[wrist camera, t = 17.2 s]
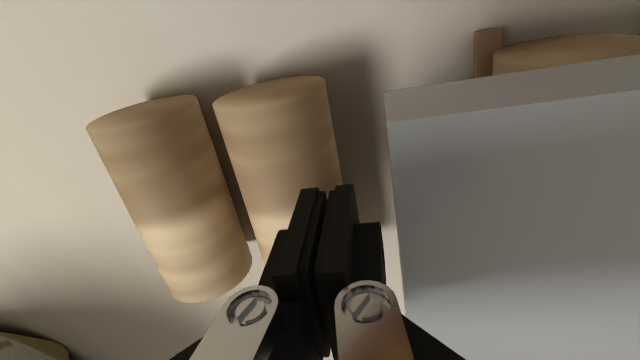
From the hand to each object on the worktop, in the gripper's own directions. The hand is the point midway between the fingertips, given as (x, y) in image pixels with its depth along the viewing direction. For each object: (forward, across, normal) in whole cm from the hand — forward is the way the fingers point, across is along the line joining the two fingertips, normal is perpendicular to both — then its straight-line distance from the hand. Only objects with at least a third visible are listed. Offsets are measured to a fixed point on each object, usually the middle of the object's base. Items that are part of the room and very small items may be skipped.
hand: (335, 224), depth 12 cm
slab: (0, -7, 0) cm, 7 cm away
